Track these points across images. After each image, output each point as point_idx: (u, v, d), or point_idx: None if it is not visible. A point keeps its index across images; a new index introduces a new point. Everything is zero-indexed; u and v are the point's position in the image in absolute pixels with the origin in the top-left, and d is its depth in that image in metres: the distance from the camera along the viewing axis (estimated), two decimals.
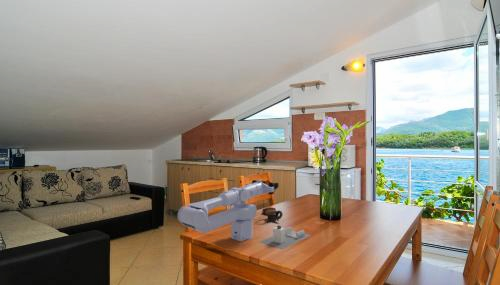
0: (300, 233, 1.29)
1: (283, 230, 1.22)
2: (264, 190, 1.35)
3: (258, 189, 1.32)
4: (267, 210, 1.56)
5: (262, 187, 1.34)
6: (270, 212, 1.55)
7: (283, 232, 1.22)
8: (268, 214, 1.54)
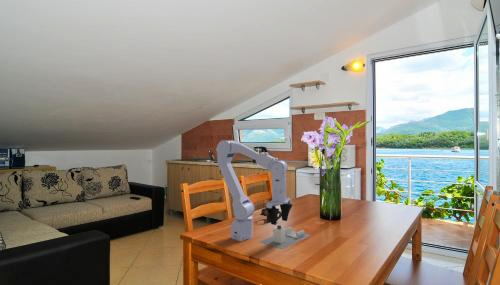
0: (300, 233, 1.29)
1: (283, 230, 1.22)
2: (273, 201, 1.22)
3: (276, 192, 1.21)
4: (266, 210, 1.56)
5: (276, 199, 1.21)
6: None
7: (283, 232, 1.22)
8: (267, 214, 1.54)
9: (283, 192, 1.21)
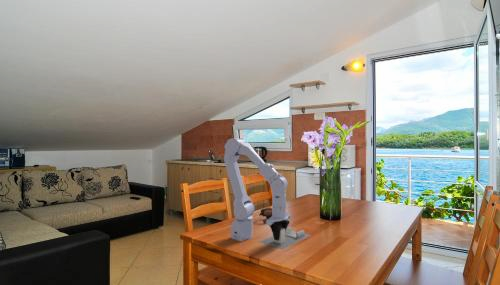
0: (300, 233, 1.29)
1: (283, 230, 1.22)
2: (273, 218, 1.22)
3: (276, 209, 1.21)
4: (265, 210, 1.55)
5: (276, 216, 1.21)
6: (268, 213, 1.54)
7: (283, 232, 1.22)
8: (266, 215, 1.53)
9: (283, 209, 1.21)
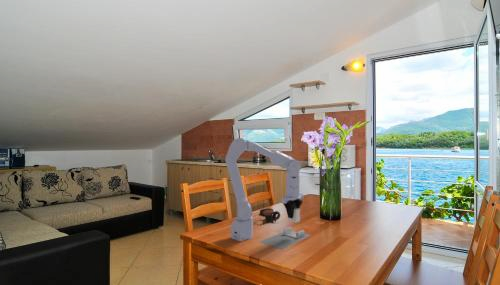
0: (300, 233, 1.29)
1: (298, 210, 1.29)
2: None
3: (290, 188, 1.28)
4: (265, 211, 1.55)
5: (290, 195, 1.28)
6: (268, 213, 1.53)
7: (298, 212, 1.29)
8: (266, 215, 1.53)
9: (297, 188, 1.28)
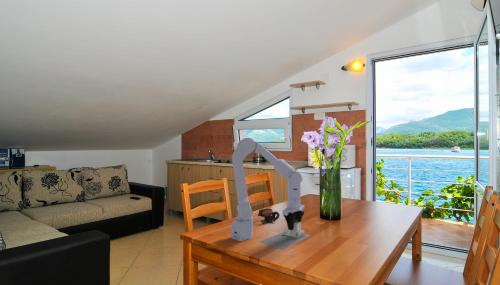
0: (300, 233, 1.29)
1: (299, 224, 1.30)
2: (288, 208, 1.30)
3: (291, 200, 1.29)
4: (264, 211, 1.54)
5: (292, 207, 1.29)
6: (267, 213, 1.53)
7: (299, 226, 1.30)
8: (265, 215, 1.52)
9: (298, 200, 1.29)
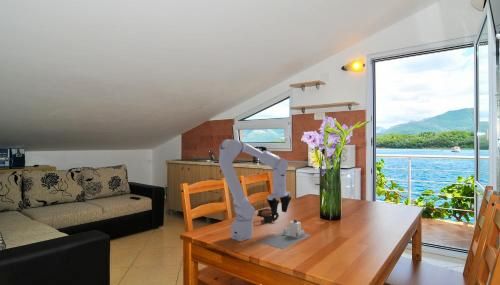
0: (300, 233, 1.29)
1: (299, 224, 1.30)
2: (274, 194, 1.35)
3: (276, 186, 1.34)
4: (263, 211, 1.54)
5: (277, 192, 1.34)
6: (266, 213, 1.52)
7: (299, 226, 1.30)
8: (264, 215, 1.52)
9: (283, 186, 1.34)
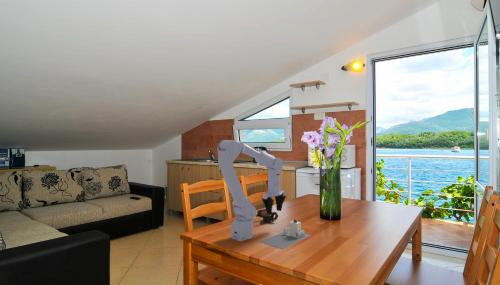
0: (300, 233, 1.29)
1: (299, 224, 1.30)
2: (268, 193, 1.37)
3: (271, 185, 1.36)
4: (262, 211, 1.53)
5: (272, 191, 1.36)
6: (265, 213, 1.52)
7: (299, 226, 1.30)
8: (263, 216, 1.51)
9: (277, 185, 1.36)
